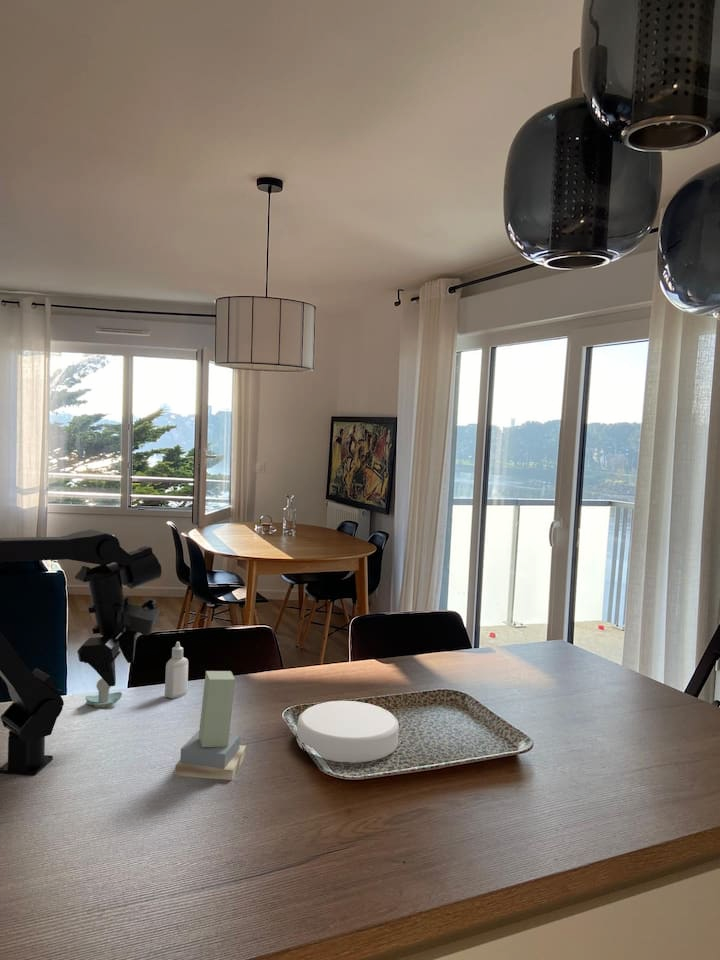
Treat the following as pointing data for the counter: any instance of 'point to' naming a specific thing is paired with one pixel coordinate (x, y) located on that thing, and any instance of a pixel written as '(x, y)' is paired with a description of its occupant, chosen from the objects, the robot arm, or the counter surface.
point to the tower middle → (209, 752)
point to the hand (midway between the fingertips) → (121, 673)
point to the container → (348, 731)
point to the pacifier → (103, 696)
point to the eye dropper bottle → (176, 673)
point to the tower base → (212, 768)
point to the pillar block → (216, 708)
